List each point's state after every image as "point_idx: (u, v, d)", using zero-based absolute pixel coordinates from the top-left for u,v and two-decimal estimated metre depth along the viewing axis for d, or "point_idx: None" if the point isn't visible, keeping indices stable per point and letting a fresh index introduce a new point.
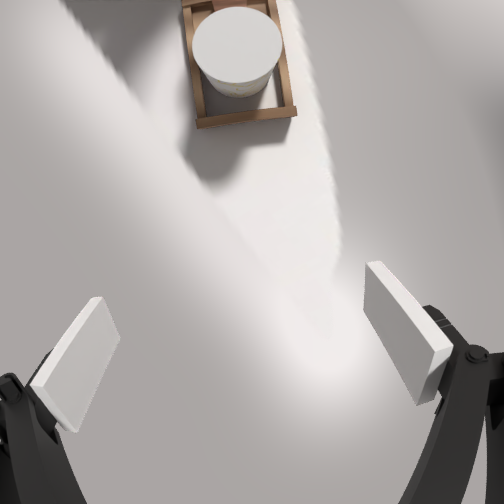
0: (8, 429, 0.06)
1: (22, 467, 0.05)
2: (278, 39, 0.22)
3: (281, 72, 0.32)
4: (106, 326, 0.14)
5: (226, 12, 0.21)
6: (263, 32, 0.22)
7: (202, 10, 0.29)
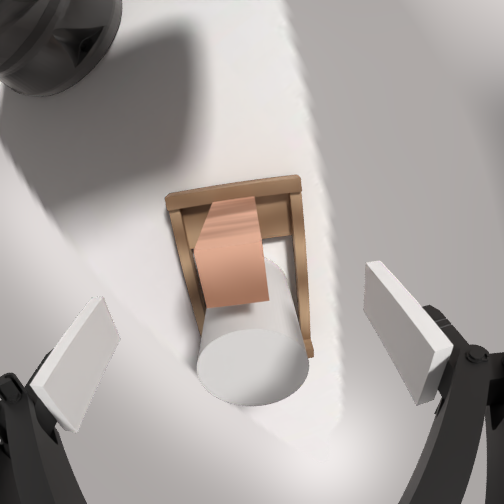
0: (8, 429, 0.06)
1: (22, 467, 0.05)
2: (304, 366, 0.21)
3: (300, 305, 0.31)
4: (106, 326, 0.14)
5: (237, 337, 0.19)
6: (287, 360, 0.20)
7: (197, 211, 0.27)
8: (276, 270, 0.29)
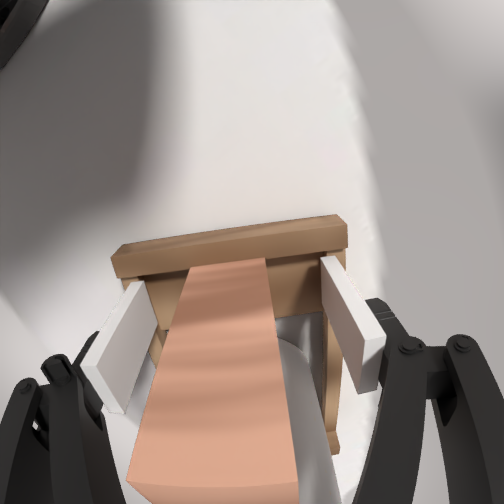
0: (50, 412, 0.07)
1: (60, 454, 0.05)
2: None
3: (327, 399, 0.19)
4: (146, 310, 0.15)
5: None
6: None
7: (167, 277, 0.16)
8: (296, 362, 0.18)
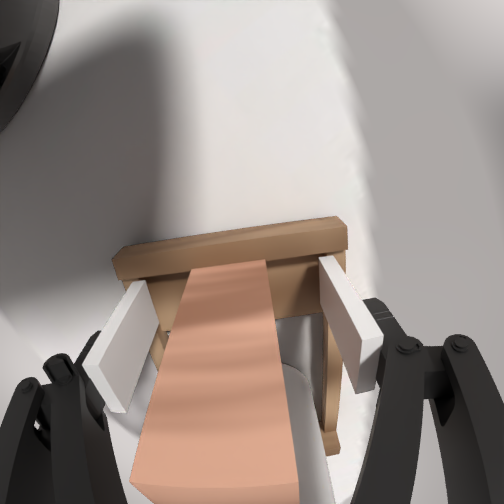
0: (52, 411, 0.07)
1: (62, 454, 0.05)
2: None
3: (328, 399, 0.19)
4: (148, 309, 0.15)
5: None
6: None
7: (168, 278, 0.16)
8: (297, 385, 0.19)
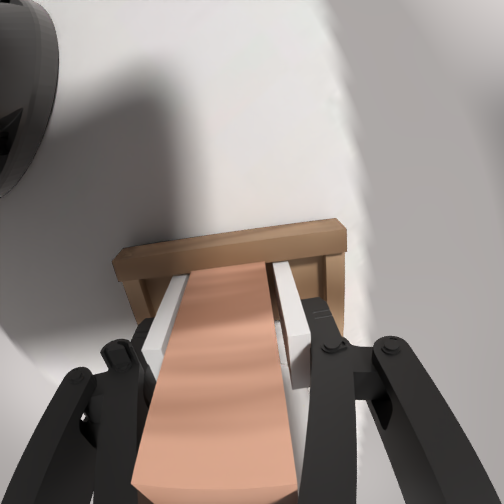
0: (104, 399, 0.08)
1: (109, 447, 0.06)
2: None
3: None
4: None
5: None
6: None
7: (168, 280, 0.16)
8: None
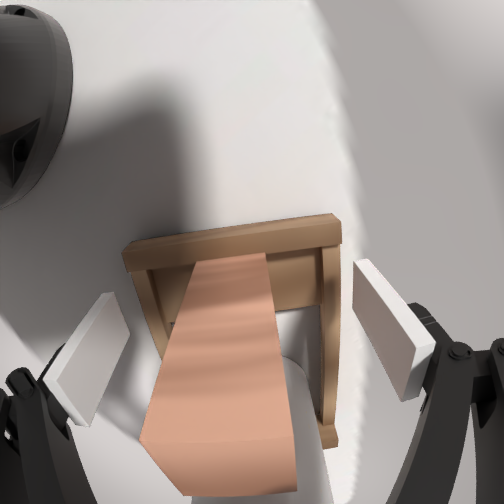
0: (18, 424, 0.06)
1: (32, 463, 0.05)
2: None
3: (325, 391, 0.20)
4: (116, 321, 0.14)
5: None
6: None
7: (174, 271, 0.17)
8: (293, 376, 0.20)
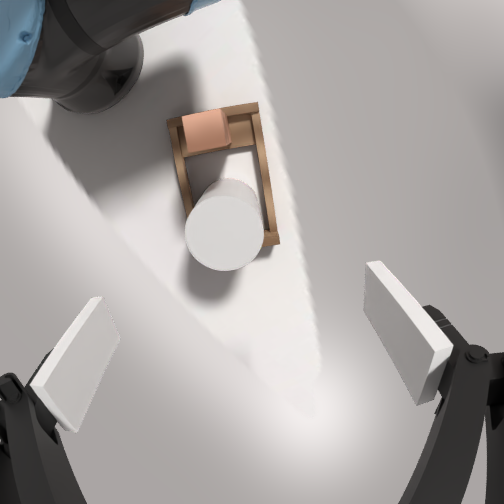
0: (8, 429, 0.06)
1: (22, 467, 0.05)
2: (260, 228, 0.31)
3: (266, 199, 0.40)
4: (106, 326, 0.14)
5: (210, 203, 0.30)
6: (246, 222, 0.31)
7: None
8: (246, 185, 0.39)
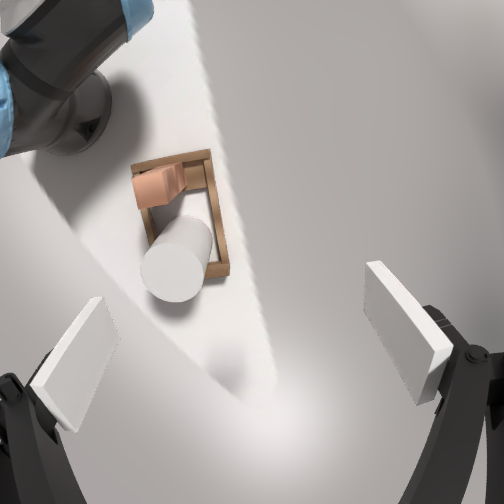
0: (8, 429, 0.06)
1: (22, 467, 0.05)
2: (200, 270, 0.36)
3: (217, 235, 0.45)
4: (106, 326, 0.14)
5: (159, 248, 0.35)
6: (189, 265, 0.36)
7: None
8: (199, 223, 0.45)
